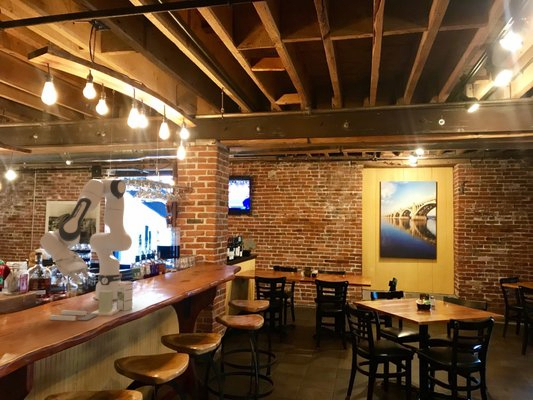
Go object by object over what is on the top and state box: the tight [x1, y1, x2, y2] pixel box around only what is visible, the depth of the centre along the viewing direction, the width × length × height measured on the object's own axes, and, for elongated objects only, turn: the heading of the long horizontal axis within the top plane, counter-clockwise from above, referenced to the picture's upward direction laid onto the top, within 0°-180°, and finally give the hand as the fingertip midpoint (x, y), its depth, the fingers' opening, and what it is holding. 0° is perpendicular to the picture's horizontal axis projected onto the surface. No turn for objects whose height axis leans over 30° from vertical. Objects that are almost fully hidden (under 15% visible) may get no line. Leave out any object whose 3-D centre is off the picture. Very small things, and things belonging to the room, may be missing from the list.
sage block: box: [97, 290, 114, 312], centre depth 201 cm, size 5×5×10 cm
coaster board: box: [90, 308, 120, 317], centre depth 200 cm, size 10×10×1 cm
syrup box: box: [116, 280, 134, 312], centre depth 209 cm, size 6×6×14 cm
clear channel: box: [49, 309, 99, 322], centre depth 190 cm, size 11×18×2 cm, turn 87°
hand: (83, 278), depth 202 cm, fingers open, 8 cm apart
